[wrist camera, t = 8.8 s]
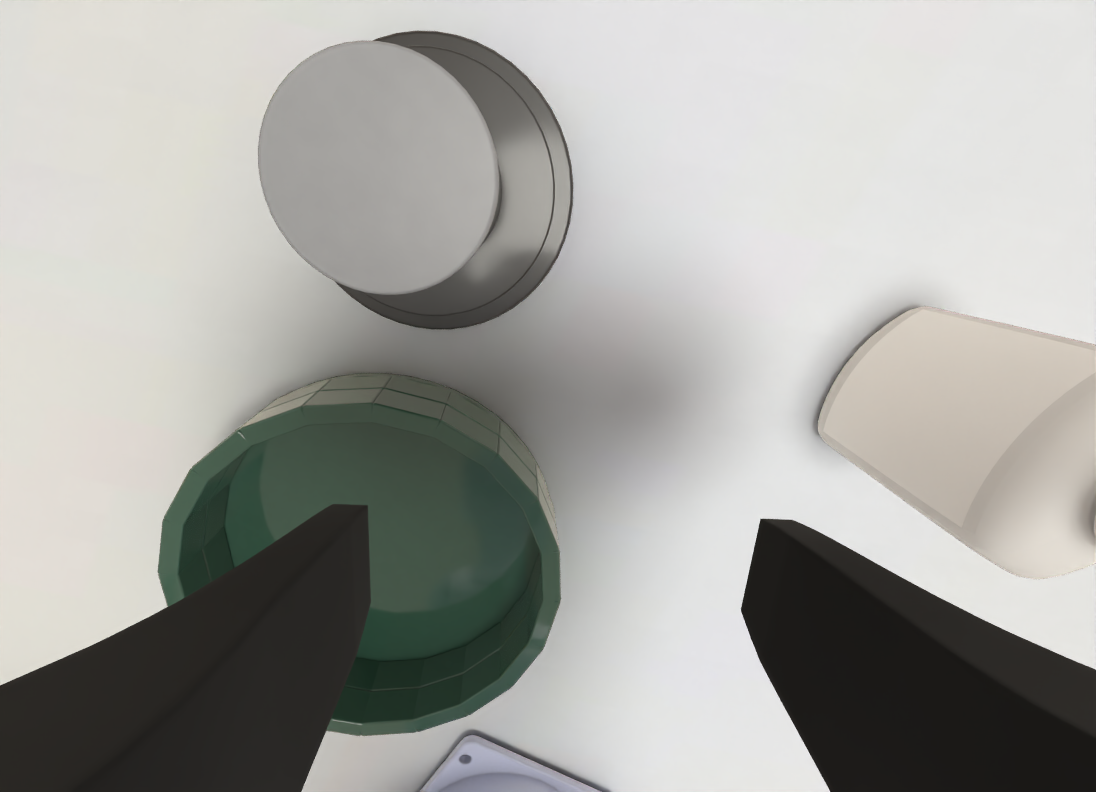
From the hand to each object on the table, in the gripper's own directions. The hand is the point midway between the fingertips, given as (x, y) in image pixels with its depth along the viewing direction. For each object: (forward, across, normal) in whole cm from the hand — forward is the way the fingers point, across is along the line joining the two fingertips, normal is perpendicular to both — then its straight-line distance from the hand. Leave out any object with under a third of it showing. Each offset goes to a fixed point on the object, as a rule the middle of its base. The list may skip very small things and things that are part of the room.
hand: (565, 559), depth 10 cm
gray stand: (+9, +4, -6) cm, 12 cm away
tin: (+9, +5, +6) cm, 12 cm away
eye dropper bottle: (+10, -12, -1) cm, 15 cm away
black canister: (+7, +4, -6) cm, 10 cm away
